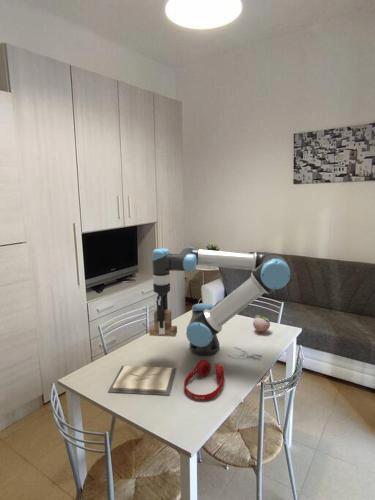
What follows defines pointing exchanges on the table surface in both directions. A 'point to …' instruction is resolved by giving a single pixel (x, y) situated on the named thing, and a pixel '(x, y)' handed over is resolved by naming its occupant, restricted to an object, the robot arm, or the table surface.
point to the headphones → (203, 370)
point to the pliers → (250, 355)
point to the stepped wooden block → (169, 328)
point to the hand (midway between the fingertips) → (163, 330)
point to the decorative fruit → (261, 323)
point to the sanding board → (143, 380)
